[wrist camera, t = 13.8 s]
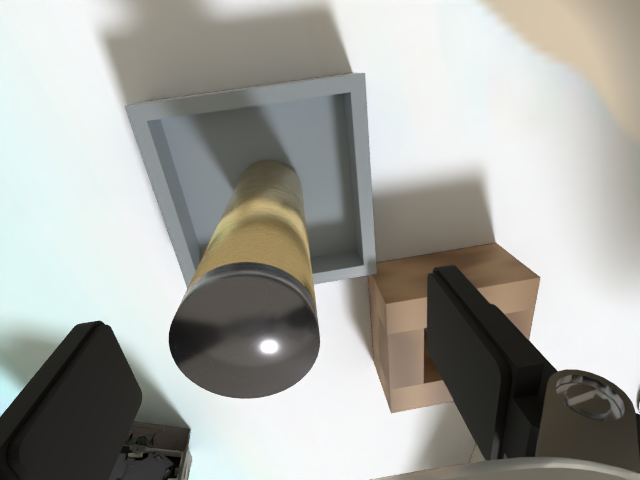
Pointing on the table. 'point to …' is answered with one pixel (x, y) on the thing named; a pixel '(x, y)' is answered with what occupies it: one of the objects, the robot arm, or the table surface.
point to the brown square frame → (411, 315)
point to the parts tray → (262, 144)
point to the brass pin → (252, 293)
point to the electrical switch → (154, 454)
